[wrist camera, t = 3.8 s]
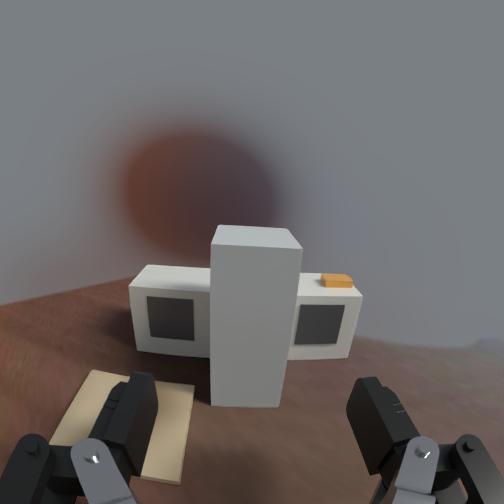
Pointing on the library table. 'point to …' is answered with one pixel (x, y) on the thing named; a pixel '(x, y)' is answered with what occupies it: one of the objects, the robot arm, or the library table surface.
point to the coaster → (164, 432)
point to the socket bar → (198, 313)
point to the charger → (251, 313)
